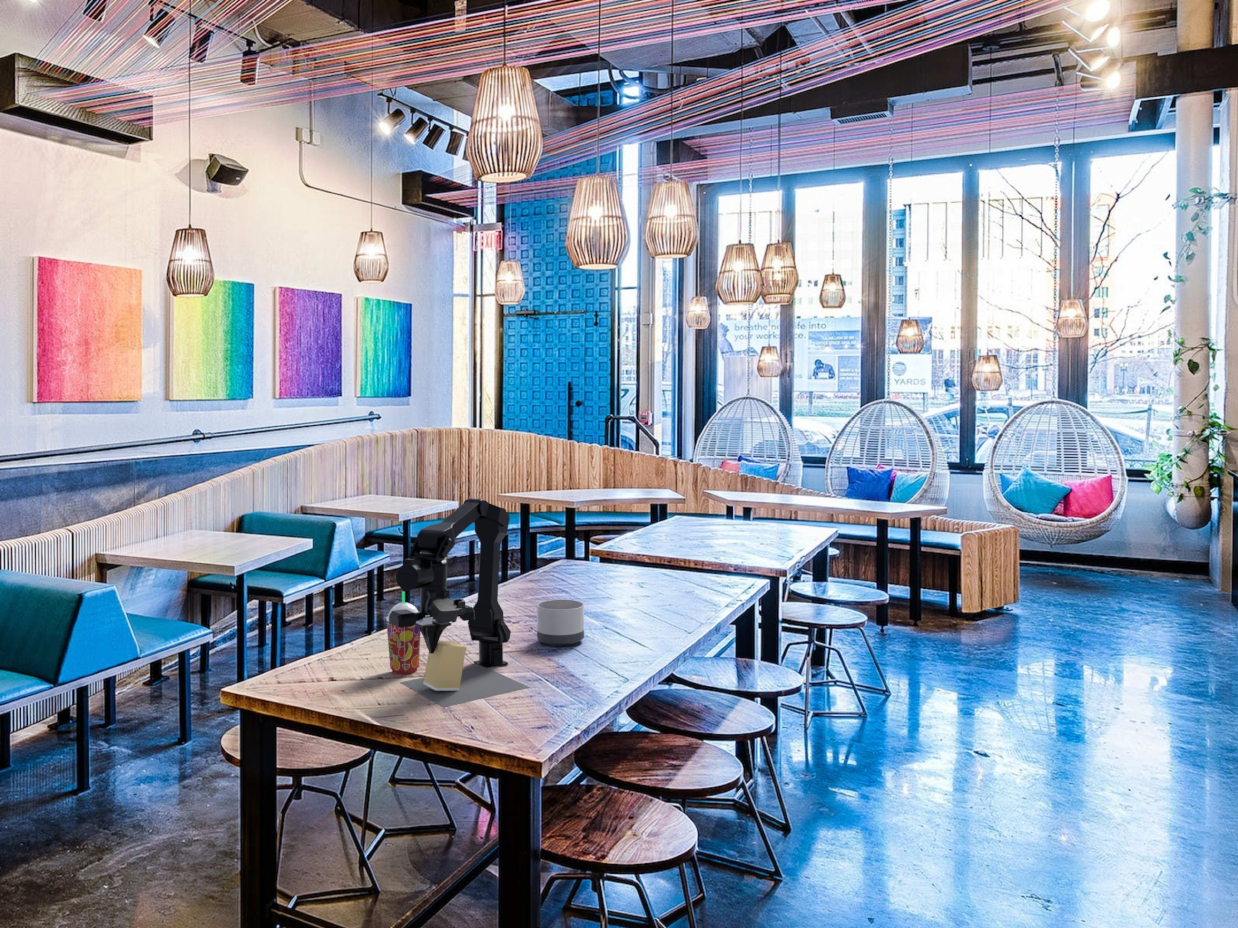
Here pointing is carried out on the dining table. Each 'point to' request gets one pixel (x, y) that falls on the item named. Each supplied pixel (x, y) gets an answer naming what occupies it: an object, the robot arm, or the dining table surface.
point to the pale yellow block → (445, 666)
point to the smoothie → (403, 643)
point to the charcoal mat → (468, 687)
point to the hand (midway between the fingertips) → (431, 653)
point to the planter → (560, 622)
